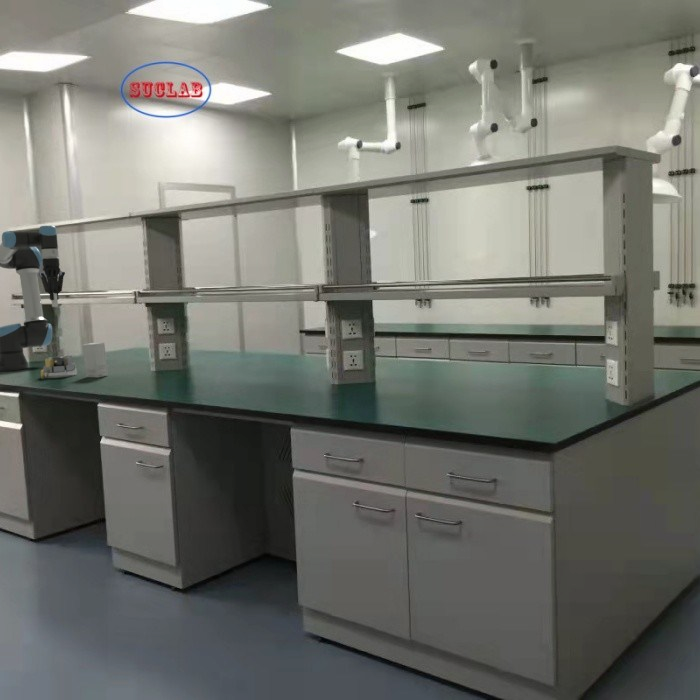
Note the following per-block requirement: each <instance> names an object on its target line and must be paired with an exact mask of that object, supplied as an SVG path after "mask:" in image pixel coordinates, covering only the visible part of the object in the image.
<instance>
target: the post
mask: <svg viewBox="0 0 700 700" xmlns="http://www.w3.org/2000/svg"><path fill="white" fill-rule="evenodd" d="M40 377H41V378H40V379H41V380H44V379H46V378H45V374H44V369H41V370H40Z"/></svg>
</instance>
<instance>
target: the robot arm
mask: <svg viewBox="0 0 700 700" xmlns="http://www.w3.org/2000/svg"><path fill="white" fill-rule="evenodd" d="M58 243H59V242H58V232H57V227H56V226H55V225H41V226H39V230H38V231H37V230H36V231H33V230H32V231H31V230H30V231H11V230H9V231H4V232H3V233H2V234H1V243H0V268H2V269H8V270H11V269H12V270H13V269H15V273H16V274H18V275H19V279H20V286H21V287H20V288H21V294H22V299H23V305H24V306H23V307H24V313H25V320H24V322H23V325H21V323H12V324H6V325H2V326H0V372H11V371H21V370H26V369H28V368H29V362H28V361H27V358H26V355H25V353H24V349H26V348H36V347H41V348H42V347H45V346H49V345H50V344H51V342H52V338H53V326H52V324H51V323H48V319H47V318H45V317H44V311H43V304H42V298H41V292H40V285H39V279H38V276H39V277H40V280H41V282H42V285H43V289H44V291H45V293H47V294H48V295H49V300H50V301H51V307H52V308H58V307H59V304H58V303H59V302H58V300H59V294H60V293H61V292H62V291H63V282H64V277H65V274H66V273H65V271H62V270H61V268H60V258H59V246H58V245H59V244H58ZM38 248H40V250H41V251H40V250H39V249H38ZM42 267H43V268H42ZM40 268H42V272H40ZM40 301H41V303H40Z"/></svg>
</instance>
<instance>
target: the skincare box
mask: <svg viewBox="0 0 700 700" xmlns="http://www.w3.org/2000/svg"><path fill="white" fill-rule="evenodd" d="M82 352H83V359H84V366H85V367H84V368H85V376H86V378H97V379H98V378H103V377H107V376H109V372H108V364H107V362H108V361H107V355H106V345H105V342H90V343H84V344H82Z"/></svg>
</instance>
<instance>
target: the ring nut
mask: <svg viewBox="0 0 700 700" xmlns="http://www.w3.org/2000/svg"><path fill="white" fill-rule="evenodd" d="M65 356H66V358H64V365H63V366H54V362H53V359H52V357H53V356H49V357H48V356H47V357H46V358H45V360H44V362H45V365H43V366H42V367H43V369H42V370H44V372H62V371H69V370H75V369H77V368H76V367H77V366H76V362H73V355H65Z"/></svg>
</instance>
